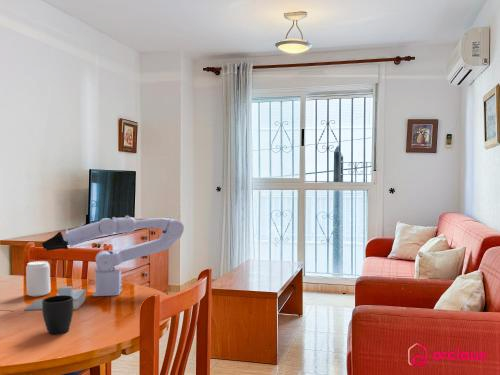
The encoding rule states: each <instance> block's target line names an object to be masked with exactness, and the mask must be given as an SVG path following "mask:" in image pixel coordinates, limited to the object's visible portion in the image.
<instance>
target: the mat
mask: <svg viewBox="0 0 500 375" xmlns="http://www.w3.org/2000/svg"><path fill="white" fill-rule="evenodd" d="M43 299H44V298H41V299H35V300H34V301H32V303H31V304H29V305H28V306H26V308H24V310H23V311H25V312H28V311H29V312H30V311H42V301H43Z"/></svg>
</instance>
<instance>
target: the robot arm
mask: <svg viewBox="0 0 500 375" xmlns="http://www.w3.org/2000/svg"><path fill="white" fill-rule="evenodd" d="M150 228H151V229H152V228H153V229H154V228H158V229H160V230H162V232H161V234H160V236H159V238H157V239H156V238H155V239H153V240H150V241H146V242H142V243H139V244H134V245H132V246H127V247H124V248H120V249H113V250H100V251H99V252H97V254H96V255H95V258H94V259H95V260H94V261H95V262H96V268H94V284H95V286H94V290H95V292H94V293H92V297H104V296H105V297H107V296H119V295H120V294H121V293H122V291H123V288H122V287H123V286H122V270H120V269H116V268H115V267H117V266H119V265H120V264H122V263H124V262H128V261H131V260H134V259H138V258H142V257H146V256H148V255H152V254H155V253H159V252H163V251H167V250H169V249H170V248H171V247H172V246H173V245H174V244H175V242H177V241H178V240H179V239H180V238H182V235H183V233H184V229H185V226H184V224H183V222H182V221H180V220H178V219H176V218H171V217H170V218H167V217H154V218H146V219H145V218H143V219H135V218H134V217H132V216H130V215H125V217H115V216H113V217H112V218H109V217H106V218H105V217H103V218H101V219H100V220H99V221H95V222H92V223H88V224H84V225H82V226H79V227H76V228H73V229H70V230H68V228H67V227H66V228H64V230H65V234H62V231H59V232H57V233H56V234H55V235H54V236H52V237H50V238H49V239H47V240H45V241H43V242H42V243H41V245H42V248H43V249H45V251H47V252H48V251H54V250H69V246H70V247H71V248H72V247H73V246H76V245H79V244H82V243H85V242H88V241H91V240H94V239H97V238H98V237H101V236H104V235H106V236H109V235H112V234H123V233H133V232H134V231H135V230H136V229H150ZM68 245H69V246H68Z"/></svg>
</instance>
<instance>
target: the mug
mask: <svg viewBox="0 0 500 375" xmlns="http://www.w3.org/2000/svg"><path fill="white" fill-rule="evenodd" d="M42 299H43V301H42V310H41V311H42V316H43V321H44V324H45V328H46V330H47V333H48V334H49V335H53V336H56V335H57V336H58V335H64V334H66V333H68V332H69V331H70V327H71V324H72V319H73V314H74V310H73V297H72V296H67V295H59V296H58V295H57V294H55V295H52V296H48V297H45V298H42Z"/></svg>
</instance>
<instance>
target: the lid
mask: <svg viewBox="0 0 500 375" xmlns="http://www.w3.org/2000/svg"><path fill="white" fill-rule="evenodd" d="M84 293H85V294H86V293H87V288H86V289H81V288H80V289H73V286H71V285H69V286H59V287H58V288H57V293H56V295H58V296H59V295H67V296H72V297H73V301H78V300H79V299H80V298H81V297H82V296H83V295H84Z"/></svg>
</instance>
